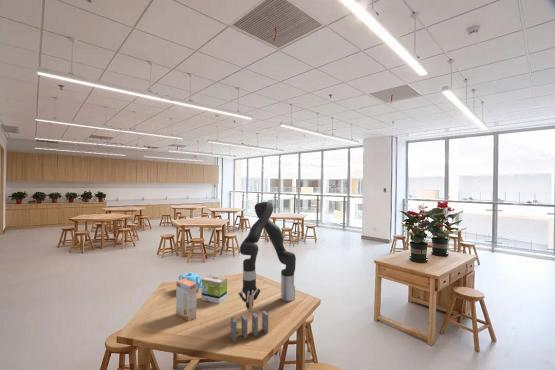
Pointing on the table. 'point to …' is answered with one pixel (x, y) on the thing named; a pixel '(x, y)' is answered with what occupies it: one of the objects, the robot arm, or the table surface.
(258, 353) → the table surface
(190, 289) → the cracker box
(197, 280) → the decorative pot
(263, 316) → the domino
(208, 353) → the table surface
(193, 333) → the table surface
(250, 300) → the domino
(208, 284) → the tea box
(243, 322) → the domino
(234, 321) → the domino
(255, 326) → the domino
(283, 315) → the table surface
